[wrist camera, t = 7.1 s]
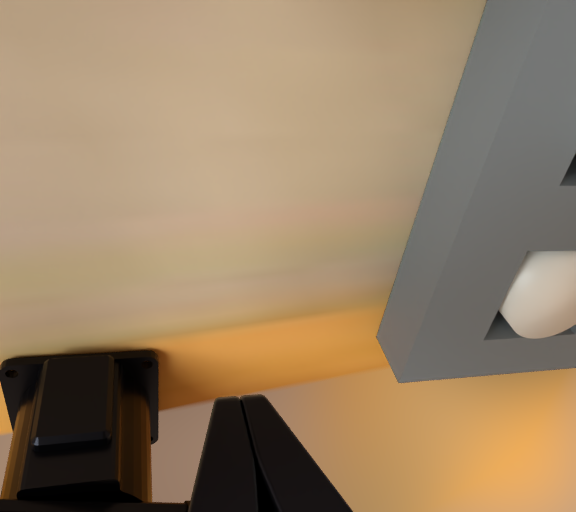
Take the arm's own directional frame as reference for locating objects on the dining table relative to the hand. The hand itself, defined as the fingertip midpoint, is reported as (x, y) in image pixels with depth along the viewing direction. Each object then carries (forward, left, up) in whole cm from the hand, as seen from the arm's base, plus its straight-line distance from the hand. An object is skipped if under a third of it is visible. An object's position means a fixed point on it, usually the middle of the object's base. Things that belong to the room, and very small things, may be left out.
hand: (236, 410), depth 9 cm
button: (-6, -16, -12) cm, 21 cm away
